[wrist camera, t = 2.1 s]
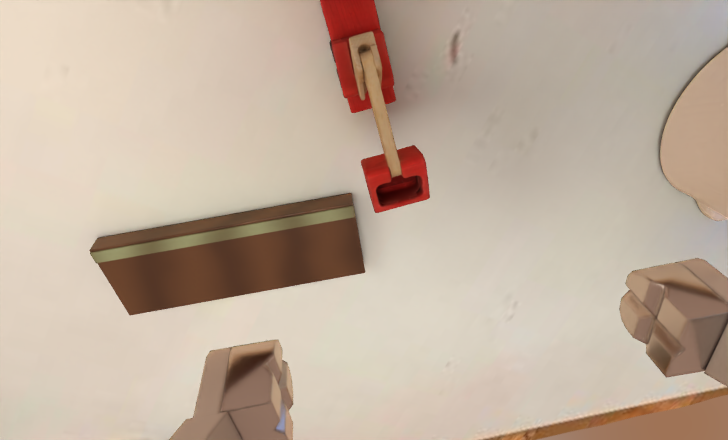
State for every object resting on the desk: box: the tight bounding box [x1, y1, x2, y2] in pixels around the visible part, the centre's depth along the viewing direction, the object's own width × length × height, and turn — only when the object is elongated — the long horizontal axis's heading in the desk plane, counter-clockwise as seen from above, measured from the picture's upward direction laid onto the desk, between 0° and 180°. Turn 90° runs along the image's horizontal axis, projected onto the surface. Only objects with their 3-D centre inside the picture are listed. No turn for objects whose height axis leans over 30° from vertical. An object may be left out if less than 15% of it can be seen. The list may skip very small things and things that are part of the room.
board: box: [90, 193, 365, 315], centre depth 36 cm, size 20×7×2 cm, turn 98°
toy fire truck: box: [320, 0, 430, 213], centre depth 25 cm, size 3×14×10 cm, turn 14°
